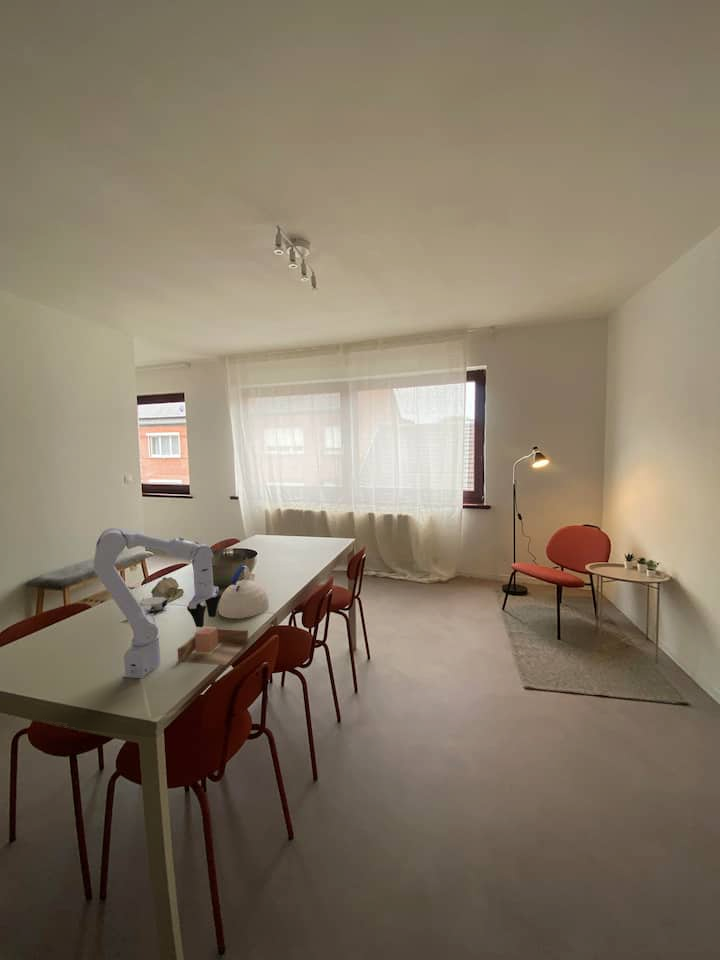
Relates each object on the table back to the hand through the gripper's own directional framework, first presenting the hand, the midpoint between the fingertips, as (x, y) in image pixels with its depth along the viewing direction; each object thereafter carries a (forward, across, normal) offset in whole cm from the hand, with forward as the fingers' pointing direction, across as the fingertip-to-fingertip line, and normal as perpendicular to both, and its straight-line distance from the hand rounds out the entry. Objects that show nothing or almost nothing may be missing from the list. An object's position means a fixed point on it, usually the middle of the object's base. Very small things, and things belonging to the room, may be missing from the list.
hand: (206, 621), depth 129 cm
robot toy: (+10, +27, +42) cm, 51 cm away
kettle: (+10, +35, +4) cm, 37 cm away
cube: (+9, 0, 0) cm, 9 cm away
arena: (+10, -1, -3) cm, 11 cm away
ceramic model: (+10, +43, +45) cm, 63 cm away
